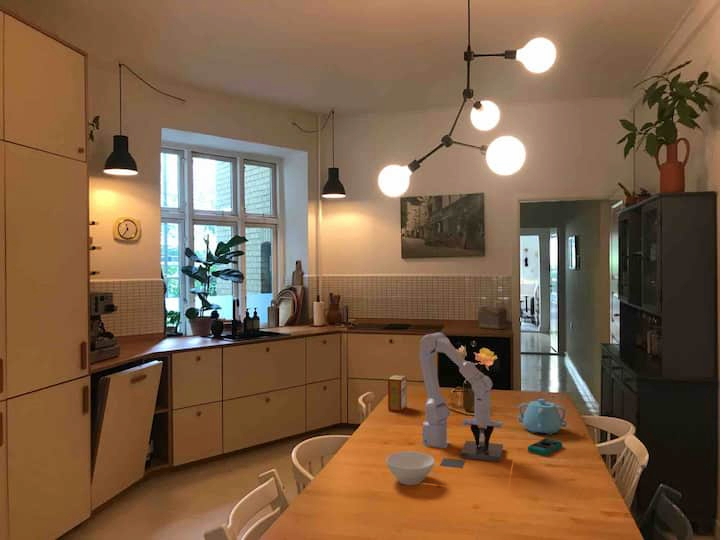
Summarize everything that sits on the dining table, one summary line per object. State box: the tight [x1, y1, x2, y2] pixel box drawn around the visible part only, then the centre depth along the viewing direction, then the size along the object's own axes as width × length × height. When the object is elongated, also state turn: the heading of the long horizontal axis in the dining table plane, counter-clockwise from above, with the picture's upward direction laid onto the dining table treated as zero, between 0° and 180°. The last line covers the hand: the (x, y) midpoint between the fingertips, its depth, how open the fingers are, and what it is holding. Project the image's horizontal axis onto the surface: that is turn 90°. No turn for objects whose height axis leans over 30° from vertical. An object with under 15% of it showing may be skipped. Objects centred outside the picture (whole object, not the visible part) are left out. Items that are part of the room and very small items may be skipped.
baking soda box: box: [387, 374, 407, 413], centre depth 267 cm, size 10×6×16 cm
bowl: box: [385, 450, 435, 486], centre depth 178 cm, size 16×16×7 cm
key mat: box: [439, 457, 467, 469], centre depth 193 cm, size 8×8×1 cm
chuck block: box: [460, 440, 504, 463], centre depth 202 cm, size 14×14×2 cm
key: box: [478, 426, 487, 451], centre depth 202 cm, size 3×3×9 cm
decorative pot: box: [517, 398, 568, 436], centre depth 231 cm, size 16×16×14 cm
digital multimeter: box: [527, 437, 563, 457], centre depth 208 cm, size 7×15×3 cm, turn 134°
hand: (482, 445), depth 202 cm, fingers closed on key, 3 cm apart
